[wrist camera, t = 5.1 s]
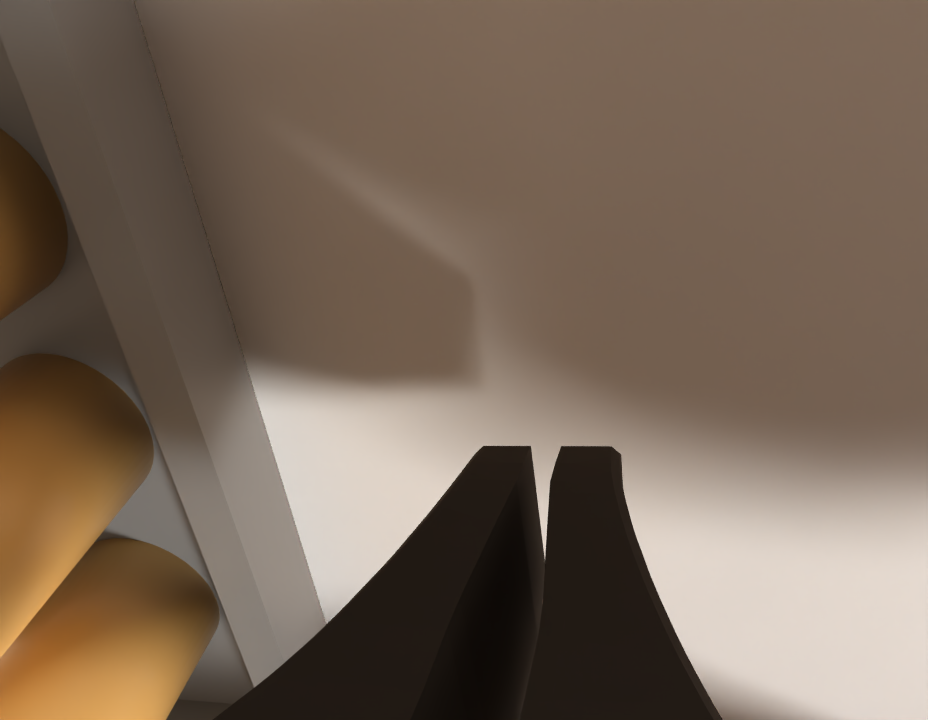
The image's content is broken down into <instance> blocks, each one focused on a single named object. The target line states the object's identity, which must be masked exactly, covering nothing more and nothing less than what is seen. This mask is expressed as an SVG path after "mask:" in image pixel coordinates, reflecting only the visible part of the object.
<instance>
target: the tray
mask: <svg viewBox="0 0 928 720" xmlns="http://www.w3.org/2000/svg"><path fill="white" fill-rule="evenodd" d="M325 625H326V622H325V619H324V615H323V612H322V609H321V606H320V603H319V599H318V596H317V593H316V590H315V586H314V583H313V580H312V577H311V573H310V570H309V567H308V564H307V560H306V557H305V554H304V551H303V547H302V544H301V541H300V538H299V535H298V531H297V528H296V525H295V522H294V518H293V515H292V512H291V509H290V505H289V502H288V499H287V496H286V492H285V489H284V486H283V483H282V479H281V476H280V473H279V470H278V466H277V463H276V460H275V457H274V454H273V450H272V447H271V444H270V441H269V437H268V434H267V431H266V428H265V424H264V421H263V418H262V415H261V411H260V408H259V405H258V402H257V398H256V395H255V392H254V389H253V386H252V382H251V379H250V376H249V373H248V369H247V366H246V363H245V360H244V356H243V353H242V350H241V347H240V343H239V340H238V337H237V334H236V330H235V327H234V324H233V321H232V318H231V314H230V311H229V308H228V305H227V301H226V298H225V295H224V292H223V288H222V285H221V282H220V279H219V275H218V272H217V269H216V266H215V262H214V259H213V256H212V253H211V250H210V246H209V243H208V240H207V237H206V233H205V230H204V227H203V224H202V220H201V217H200V214H199V211H198V207H197V204H196V201H195V198H194V194H193V191H192V188H191V185H190V182H189V178H188V175H187V172H186V169H185V165H184V162H183V159H182V156H181V152H180V149H179V146H178V143H177V139H176V136H175V133H174V130H173V126H172V123H171V120H170V117H169V114H168V110H167V107H166V104H165V101H164V97H163V94H162V91H161V88H160V84H159V81H158V78H157V75H156V71H155V68H154V65H153V62H152V58H151V55H150V52H149V49H148V46H147V42H146V39H145V36H144V33H143V29H142V26H141V23H140V20H139V16H138V13H137V10H136V7H135V3H134V0H0V720H213V719H214V718H215V717H217V716H218V715H219V714H220V713H222V712H223V711H224V710H226V709H227V708H228V707H230V706H231V705H232V704H234V703H235V702H236V701H237V700H239V699H240V698H241V697H243V696H244V695H245V694H247V693H248V692H249V691H250V690H252V689H253V688H254V687H256V686H257V685H258V684H259V683H261V682H262V681H263V680H264V679H265V678H267V677H268V676H269V675H270V674H272V673H273V672H274V671H275V670H276V669H278V668H279V667H280V666H281V665H282V664H283V663H285V662H286V661H287V660H288V659H289V658H290V657H291V656H292V655H294V654H295V653H296V652H297V651H298V650H299V649H300V648H301V647H303V646H304V645H305V644H306V643H307V642H308V641H309V640H310V639H311V638H313V637H314V636H315V635H316V634H317V633H318V632H319V631H320V630H321V629H322V628H323V627H324V626H325Z"/></svg>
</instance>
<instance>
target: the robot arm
mask: <svg viewBox="0 0 928 720" xmlns="http://www.w3.org/2000/svg"><path fill="white" fill-rule="evenodd" d="M542 603H543V604H542ZM213 720H722V718H721V716H720V715H719V713H718V711H717V710H716V708H715V706H714V705H713V703H712V701H711V699H710V697H709V696H708V694H707V692H706V690H705V688H704V686H703V685H702V683H701V681H700V679H699V677H698V676H697V674H696V672H695V670H694V668H693V666H692V664H691V662H690V661H689V659H688V657H687V655H686V653H685V651H684V649H683V647H682V645H681V643H680V641H679V639H678V637H677V635H676V633H675V630H674V628H673V626H672V624H671V622H670V620H669V617H668V615H667V613H666V611H665V609H664V606H663V604H662V602H661V600H660V598H659V595H658V593H657V590H656V588H655V586H654V583H653V581H652V578H651V576H650V573H649V571H648V568H647V565H646V562H645V560H644V557H643V554H642V552H641V549H640V546H639V543H638V541H637V538H636V535H635V532H634V529H633V525H632V522H631V519H630V515H629V511H628V507H627V504H626V500H625V495H624V490H623V480H622V462H621V454H620V453H619V452H617V451H616V450H615V449H614V448H613V447H609V446H561V449H560V452H559V455H558V457H557V460H556V463H555V467H554V470H553V474H552V477H551V481H550V493H549V508H548V524H547V540H546V557H545V559H544V551H543V542H542V534H541V526H540V518H539V510H538V501H537V493H536V485H535V477H534V469H533V461H532V452H531V446H483V447H482V448H481V449H480V450H479V451H478V452H477V453H476V454H475V455H474V456H473V457H472V459H471V460H470V461H469V463H468V464H467V465H466V467H465V468H464V469H463V470H462V472H461V473H460V474H459V476H458V477H457V478H456V480H455V481H454V482H453V483H452V485H451V486H450V487H449V489H448V490H447V491H446V492H445V494H444V495H443V496H442V497H441V499H440V500H439V501H438V502H437V504H436V505H435V506H434V507H433V509H432V510H431V511H430V512H429V514H428V515H427V516H426V517H425V518H424V520H423V521H422V522H421V523H420V524H419V525H418V527H417V528H416V529H415V530H414V531H413V533H412V534H411V535H410V536H409V537H408V538H407V540H406V541H405V542H404V543H403V544H402V545H401V547H400V548H399V549H398V550H397V551H396V552H395V554H394V555H393V556H392V557H391V558H390V559H389V560H388V561H387V563H386V564H385V565H384V566H383V567H382V568H381V569H380V570H379V571H378V572H377V573H376V574H375V575H374V576H373V577H372V578H371V579H370V581H369V582H368V583H367V584H366V585H365V586H364V587H363V588H362V589H361V590H360V591H359V592H358V593H357V594H356V595H355V596H354V597H353V598H352V599H351V601H350V602H349V603H348V604H347V605H346V606H345V607H344V608H343V609H342V610H341V611H340V612H339V613H338V614H337V615H336V616H335V617H334V618H333V619H332V620H330V621H329V622H328V623H327V624H326V625H325V626H324V627H323V628H322V629H321V630H320V631H319V632H318V633H317V634H316V635H315V636H314V637H313V638H311V639H310V640H309V641H308V642H307V643H306V644H305V645H304V646H303V647H301V648H300V649H299V650H298V651H297V652H296V653H295V654H294V655H292V656H291V657H290V658H289V659H288V660H287V661H286V662H285V663H283V664H282V665H281V666H280V667H279V668H278V669H276V670H275V671H274V672H273V673H272V674H270V675H269V676H268V677H267V678H265V679H264V680H263V681H262V682H261V683H259V684H258V685H257V686H256V687H254V688H253V689H252V690H250V691H249V692H248V693H247V694H245V695H244V696H243V697H241V698H240V699H239V700H237V701H236V702H235V703H234V704H232V705H231V706H230V707H228V708H227V709H226V710H224V711H223V712H222V713H220V714H219V715H218V716H217V717H215V718H214V719H213Z"/></svg>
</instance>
